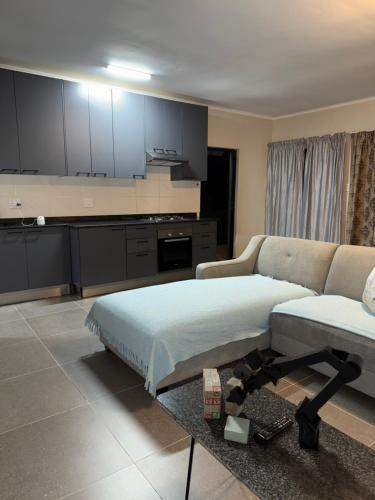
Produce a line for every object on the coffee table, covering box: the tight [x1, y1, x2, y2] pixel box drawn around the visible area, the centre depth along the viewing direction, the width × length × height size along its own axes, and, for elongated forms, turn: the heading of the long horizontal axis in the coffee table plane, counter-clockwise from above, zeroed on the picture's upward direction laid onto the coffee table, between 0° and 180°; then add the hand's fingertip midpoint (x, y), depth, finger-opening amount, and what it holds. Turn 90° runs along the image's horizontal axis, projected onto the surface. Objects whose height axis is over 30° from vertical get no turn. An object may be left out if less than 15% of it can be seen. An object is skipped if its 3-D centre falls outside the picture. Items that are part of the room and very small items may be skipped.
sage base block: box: [223, 415, 250, 444], centre depth 126 cm, size 8×8×4 cm
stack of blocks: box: [202, 368, 222, 420], centre depth 143 cm, size 21×6×12 cm, turn 179°
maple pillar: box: [224, 377, 243, 417], centre depth 137 cm, size 5×5×13 cm
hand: (232, 394), depth 137 cm, fingers open, 9 cm apart
